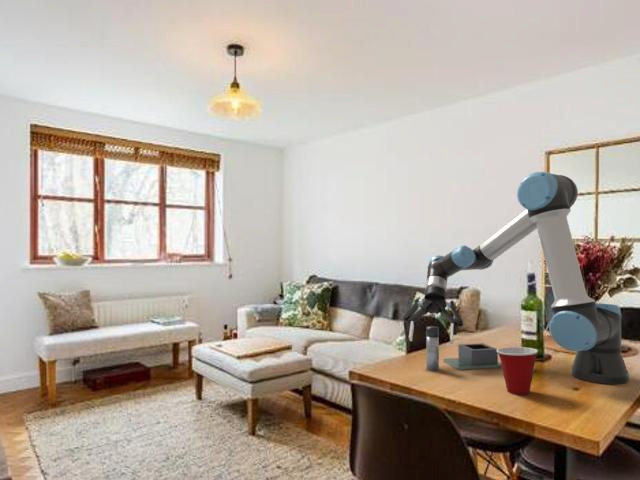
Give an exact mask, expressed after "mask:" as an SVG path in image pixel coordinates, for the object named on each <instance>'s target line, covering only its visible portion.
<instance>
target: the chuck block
mask: <svg viewBox="0 0 640 480" xmlns="http://www.w3.org/2000/svg"><path fill="white" fill-rule="evenodd" d="M497 349H498V348H495V347H494V346H490V345H488V344H486V343H465V344H463V343H462V344H458V357H452V358H451V357H450V358H443V362H444V363H445V364H447V365H449V366H451V367H452V368H454V369H456V370H457V371H459V370H460V371H462V370H479V369H481V368H482V369H496V368H497V367H501V368H502V364H501V362H499V354H498V353H497V351H496V350H497ZM497 369H498V368H497Z"/></svg>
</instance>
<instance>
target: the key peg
mask: <svg viewBox="0 0 640 480" xmlns="http://www.w3.org/2000/svg"><path fill="white" fill-rule="evenodd" d="M439 329H440V328H439V326H434V325H431V326H426V327H425V340H426V341H425V344H426V345H425V346H426V347H425V348H426V350H425V351H426V352H425V353H426V356H425V357H426V370H427V371H430V372H437V371H440V359H439V358H440V352H439V351H440V350H439V349H440V347H439V346H440V342H439V338H440V337H439Z"/></svg>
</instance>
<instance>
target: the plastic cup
mask: <svg viewBox="0 0 640 480" xmlns="http://www.w3.org/2000/svg"><path fill="white" fill-rule="evenodd" d="M496 349H497V350H496V351H497V353H498V358H499V359H500V364H502V367H501V369H502V373H503V378H504V381H505V382H504V383H505V388H506V391H507V392H508V393H510V394H512V393H513V394H514V395H517V394H518V396H523V395H524V396H527V395H528V394H530V391H531V386H532V381H533V377H534V376H533V375H534V372H533V370H534V366H535V363H536V359H537V353H538V352H539V350H538V349H537V348H533V347H524V346H522V347H521V346H520V347H519V346H509V347H508V346H507V347H501V348H496Z"/></svg>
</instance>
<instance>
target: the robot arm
mask: <svg viewBox="0 0 640 480" xmlns="http://www.w3.org/2000/svg"><path fill="white" fill-rule="evenodd" d="M516 191H517V193H516V197H517V201H518V202H519V204H520V205H521V206H522V207H523V208H524V209H523V211H521V212H520V213H519V214H517V215H516V216H515V217H514V218H512V219H511V220H509V221H508V223H506V224H505V225H504V226H503V225H502V227H501V228H500V229H498V230H496V232H495V233H493V234H491V236H489V237H488V238H487V239H485V240H484V241H483V242H482V243H481V244H479V245H478V246H477V247H475V248H474V249H472V248H471V247H469V246H467V245H461V246H458V247H456V248H455V249H453V250H452V251H451V252H449V253H447V254H445V255H444V256H443V255H440V254H439V255H434V256H432V257H431V258H430V259H429V261H428V262H429V263H428V265H427V275H426V283H425V290H424V298H423V300H422V301H421V300H419V299H417V298H415V300H414V302H413V304H412V306H411V307H410V308H409V310H408V311H406V313H405V315H404V316H403V318H402V319H403V322H404V324H407V325H406V329H407V332H409V334H408V339H409V342H413V336H414V329H415V328H414V327H415V323H416V322H417V321H418V320H420V319H421V318H422V317H423V316H425V315H427V314H437V315H438V314H441V315H442V316H443V317H444V318H445V319H446V320H447V321H448V322H449V323H450V335H449V336H450V337H449V340H450V341H449V343H450V345H454V336H457V334H458V328H459V327H463V326H464V323H463V322H464V321H463V319H462V316H461V315H460V313H459V312H458V309H457V308H456V306H455V301H454V300H450V301H448V302H447V301H446V299H447V290H448V289H447V288H448V278H449V277H452V276H453V275H455V274H457V273H459V272H461V271H472V270H485V269H489V268H491V266H492V265H493V263H494V261H495V260H496V259H497V258H498V257H500V256H502V255H503V254H504V253H505V252H507V251H508V250H509V249H511V248H512V247H514V246H516V245H517V244H518V243H519V242H520V241H523V239H525V238H526V237H528V236H529V235H531V233H532V232H534V231H535V230H537V232H538V237H539V241H540V244H541V245H540V246H541V249H542V253H543V257H544V261H545V265H546V269H547V273H548V278H549V282H550V286H551V289H552V294H553V298H554V301H553V302H552V304H551V305H550V310H551V312H552V318H551V320H550V321H549V325H548V327H549V334H550V336H551V338H552V340H553V341H554V342H555V343H556V344H557V345H558V346H560V347H561V348H563V349H565V350H567V351H571V352H576V353H575V357H574V360H573V364H572V365H571V375H572V376H573V377H575V378H577V379H580V380H582V381H587V382H592V383H596V384H597V383H598V384H605V385H607V384H609V385H621V384H626V383H629V382H630V374H629V371H628V369H627V366H626V364H625V360H624V358H623V354H622V313H621V312H622V311H621V308H620V306H618V305H617V304H611V303H600V302H596V301H595V299H593V298H592V297H590V296H588V294H587V291H586V286H585V283H584V280H583V279H584V278H583V276H582V271H581V267H580V264H579V260H578V256H577V252H576V249H575V245H574V240H573V237H572V233H571V228H570V225H569V221H568V216H569V214H570V213H571V208H572V206H573V205H575V202H577V198H578V194H579V193H578V192H579V191H578V186H577V184H576V183H575V182H574V180H573V179H572V178H570V177H568V176H566V175H561V174H555V173H551V172H548V171H536V172H533V173H530V174H528V175H527V176H525V177H524V178H523V179H522V180H521V182H520V184H519V185H518V187H517V190H516ZM420 307H421V308H420ZM447 307H448V309H450V310H451V313H452V314H450V313H449V311H448V310H447V309H446V308H447ZM419 308H420V309H419ZM418 309H419V310H418ZM452 315H453V316H452Z"/></svg>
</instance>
